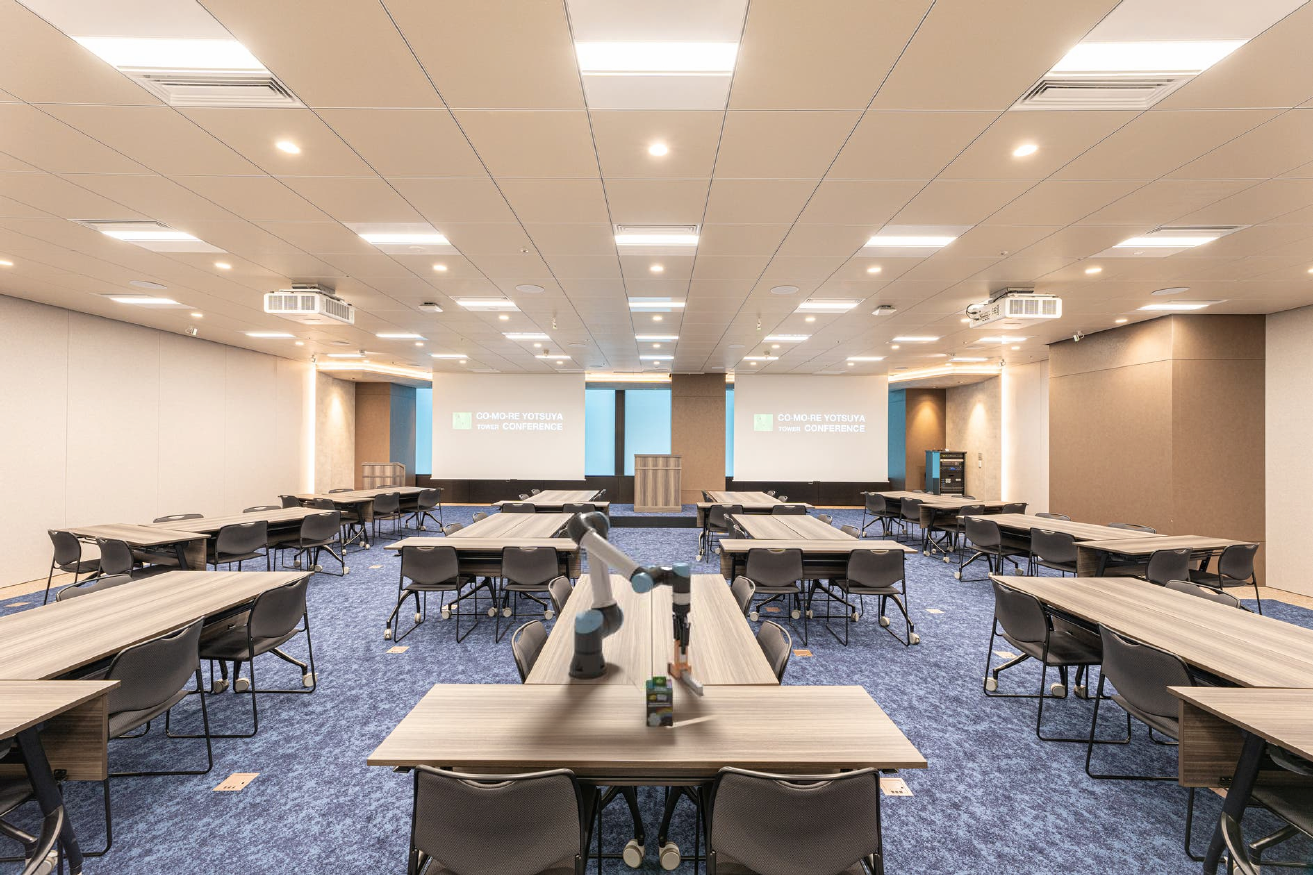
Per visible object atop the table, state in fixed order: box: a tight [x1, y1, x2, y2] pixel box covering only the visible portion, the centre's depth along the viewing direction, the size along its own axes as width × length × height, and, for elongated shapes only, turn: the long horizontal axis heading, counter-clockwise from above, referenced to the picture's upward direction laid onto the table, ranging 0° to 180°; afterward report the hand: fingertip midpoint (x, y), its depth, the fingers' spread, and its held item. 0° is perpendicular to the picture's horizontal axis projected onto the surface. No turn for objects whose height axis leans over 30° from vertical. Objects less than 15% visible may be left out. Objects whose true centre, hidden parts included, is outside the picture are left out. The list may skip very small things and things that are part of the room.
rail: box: [666, 661, 704, 695], centre depth 194 cm, size 25×12×4 cm, turn 22°
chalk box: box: [645, 675, 674, 727], centre depth 167 cm, size 9×9×15 cm
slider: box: [669, 640, 692, 679], centre depth 200 cm, size 6×7×13 cm
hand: (680, 660), depth 200 cm, fingers closed on slider, 2 cm apart
